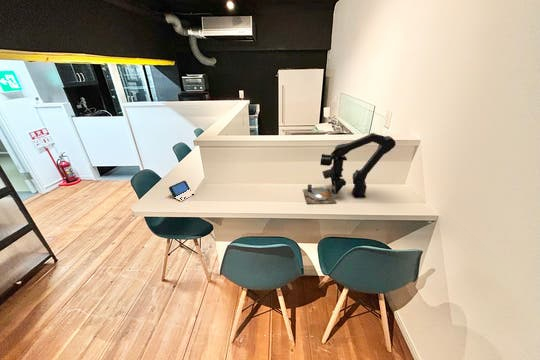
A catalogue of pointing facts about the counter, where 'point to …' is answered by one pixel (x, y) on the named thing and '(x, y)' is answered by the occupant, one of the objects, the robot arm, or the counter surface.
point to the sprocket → (318, 193)
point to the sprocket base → (311, 201)
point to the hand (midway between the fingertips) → (334, 189)
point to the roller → (333, 189)
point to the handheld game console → (179, 188)
